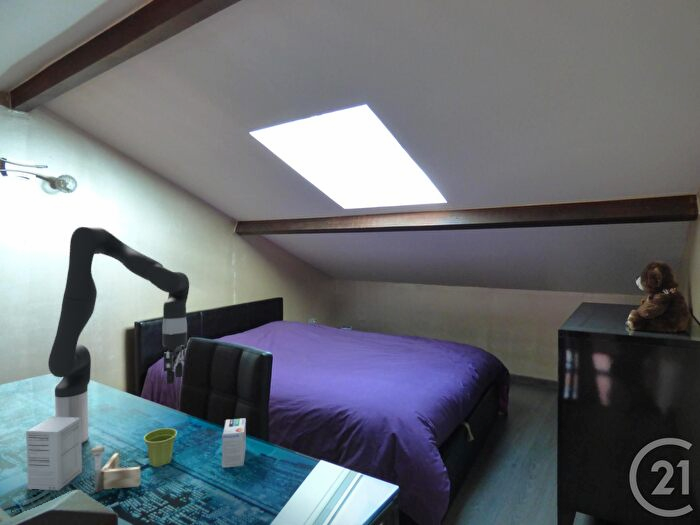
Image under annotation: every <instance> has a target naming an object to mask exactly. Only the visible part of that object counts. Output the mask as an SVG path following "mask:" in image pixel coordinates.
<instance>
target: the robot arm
mask: <svg viewBox="0 0 700 525" xmlns="http://www.w3.org/2000/svg"><path fill="white" fill-rule="evenodd" d="M95 255H104V256H106V257H107V256H108V257H110V258H112V259H115V260H117V261H118V262H120V263H121V264H122V265H123V266H124V267H125V268H126V269H127V270H128V271H130V272H131V273H133V274H134V275H136V276H137V277H140V278H142V279H144V280H146V281H149V282H150V283H151V285H152V284H153V286H155V287H156V288H157V289H160V290H161V291H163V292H165V293H168V298H167V300H166V301H164V303H163V307H162V308H163V309H162V310H163V311H162V317H163V321H162V346H163V347H165V348H168V349H167V352H166V351H165V352H164V353H163V372H165V373H166V384H168V385H172V384H174V383H175V382H176V381H175V380H176V378H181V377H183V375H184V373H183V372H184V364H185V363H186V345H187V344H188V323H187V301H188V297H189V291H190V280H189V278H188V276H187V274H185V273H184V272H181V271H172V270H170V269H168V268H166V267H164V265H163V264H162V263H161V262H159V261H157V260H156V259H154V258H151V257H150V256H147V255H145V254H143V253H141V252H139V251H138V250H135V249H134V248H132V247H131V246H129V245H128V244H126V243H124V242H123V241H121V240H120V239H119V238H118V237H116V236H115V235H114V234H113V233H111V232H109V230H106V229H105V228H102V227H99V226H85V225H84V226H79V227H77V228H76V229H75V230H73V232H72V234H71V238H70V242H69V256H68V257H69V258H68V270H67V274H66V275H67V277H66V283H65V288H64V291H63V296H62V297H63V298H62V302H61V309H60V316H59V319H58V325H57V330H56V333H55V337H54V340H53V344H52V347H51V350H50V354H49V357H48V370H49V372H50V373H51V375H52V376H54V377H56V378H62V379H61V381H60V382H58V384H57V385H56V386H55V388H54V410H55V411H54V413H55V416H54V417H75V418H81V444H83V443H85V442H86V441H88V439H89V398H88V397H89V395H88V394H89V392H88V389H89V388H88V386H89V384H90V380H91V371H92V370H91V368H92V364H91V363H92V359H91V358H92V356H91V353H90V351H89V349H88V347H86V346H85V345H82V344H78V341H79V338H80V336H81V333H82V332H83V331H84V328H85V327H86V325H87V324H88V322H89V321H90V320H91V317H92V315H93V313H94V311H95V307H96V302H97V297H98V295H97V293H98V291H97V287H96V283H95V280H94V278H93V274H92V267H93V266H92V265H93V260H94V256H95Z"/></svg>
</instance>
